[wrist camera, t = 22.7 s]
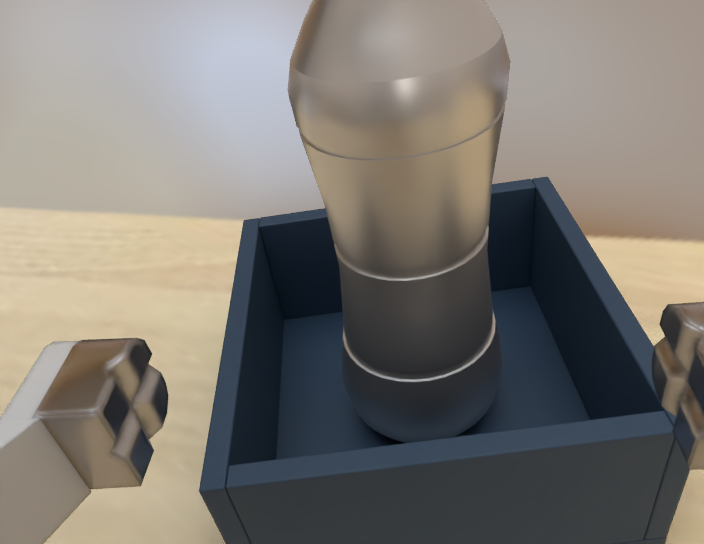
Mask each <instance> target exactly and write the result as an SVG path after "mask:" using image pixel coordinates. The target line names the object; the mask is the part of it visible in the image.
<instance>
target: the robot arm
mask: <svg viewBox="0 0 704 544" xmlns="http://www.w3.org/2000/svg"><path fill="white" fill-rule="evenodd" d="M660 326H661V328H662V330H663V332H664V334H665V337H664V338H663V339H662V340H660V341H659V342H658V343H657V344H656V345H655V346H654V351H653V356H652V361H651V364H652V379H653V383H654V387H655V391H656V394H657V396H658V399H659V401H660V404H661V406H662V407H663V408H665V409H666V410H668V411H669V412H670V413H672V414H673V415H674V416H676V419H675V423H674V426H673V430H672V432H673V434H674V436H675V438H676V441H677V443H678V445H679V447H680V450H681V452H682V454H683V456H684V459H685V461H686V463H687V465H688V468H689V470H694V469H704V302H696V303H682V304H668V305H667V306H666V308H665V309H664V311H663V313H662V317H661V321H660ZM151 355H152V353H151V351H150V349H149V348H148V346H147V344H146V342H145V340H142V339H139V338H123V339H97V340H81V341H59V342H52V343H51V344H49V345H47V346H46V347H45V348H44V349H43V351H42V352H41V354H40V356H39V357H38V359H37V360H36V362H35V363H34V365H33V367H32V368H31V370H30V371H29V373H28V375H27V376H26V378H25V379H24V381H23V383H22V384H21V386H20V387H19V389H18V391H17V392H16V394H15V395H14V397H13V398H12V400H11V402H10V403H9V405H8V406H7V408H6V410H5V411H4V413H3V414H2V416H1V418H0V544H43V543H44V542H45V541H46V540H47V539H48V538H49V537H50V536H51V535H52V534H53V533H54V532H55V531H56V530H57V528H58V527H59V526H60V525H61V524H62V523H63V522H64V521H65V520H66V519H67V518H68V517H69V516H70V514H71V513H72V512H73V511H74V510H75V509H76V508H77V507H78V506H79V505H80V504H81V503H82V502H83V500H84V499H85V498H86V497H87V496H88V495H89V494H90V493H91V490H90V489H102V488H119V487H136V486H141V484H142V481H143V479H144V476H145V473H146V471H147V468H148V465H149V462H150V460H151V457H152V454H153V451H154V450H153V448H152V445H151V443H150V441H149V439H150V438H151V437H152V436H153V435H154V434H156V433H157V432H158V431H159V430H160V429H161V428H162V426H163V423H164V420H165V417H166V414H167V406H168V392H167V387H166V383H165V380H164V378H163V376H162V374H161V372H159V371H158V370H156V369H155V368H153V367H152V366H150V365H149V364H148V363H149V360H150V358H151Z"/></svg>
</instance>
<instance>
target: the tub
mask: <svg viewBox="0 0 704 544" xmlns="http://www.w3.org/2000/svg"><path fill="white" fill-rule="evenodd" d="M488 227H489V232H488V245H487V254H488V265H489V276H490V287H491V297H492V308H493V312H494V315H495V319H496V323H497V327H498V331H499V336H500V343H501V349H502V356H503V365H502V373H501V376H500V380H499V384H498V387H497V391H496V394H495V397H494V400H493V403H492V405H491V406H490V408H489V409H488V411H487V412H486V414H485V415H484V416H483V417H482V418H481V419H480V420H479V421H478V422H477V423H476V424H475V425H473V426H472V427H470V428H469V429H467V430H466V431H464V432H462V433H461V434H459V435H457V436H455V437H450V438H443V439H435V440H427V441H419V442H411V443H404V442H400V441H396V440H394V439H391V438H388V437H386V436H384V435H382V434H380V433H378V432H376V431H375V430H373V429H372V428H371V427H369V426H368V425H367V424H366V423H365V422H364V421H363V420H362V419H361V418H360V416H359V415H358V413H357V411H356V409H355V407H354V405H353V403H352V401H351V399H350V397H349V395H348V393H347V390H346V388H345V386H344V382H343V377H342V359H341V349H342V336H343V327H344V323H343V309H342V296H341V282H340V269H339V263H338V259H337V254H336V250H335V246H334V241H333V238H332V234H331V229H330V225H329V221H328V217H327V213H326V208H325V209H318V210H311V211H304V212H297V213H290V214H283V215H276V216H270V217H262V218H260V219H259V218H257V219H249V220H244V222H243V228H242V234H241V240H240V246H239V252H238V258H237V264H236V271H235V277H234V283H233V289H232V295H231V301H230V307H229V313H228V319H227V325H226V331H225V337H224V343H223V349H222V355H221V361H220V367H219V373H218V380H217V386H216V392H215V398H214V404H213V410H212V416H211V422H210V428H209V434H208V440H207V446H206V452H205V458H204V464H203V470H202V476H201V482H200V488H199V492H200V494H201V496H202V498H203V500H204V502H205V504H206V506H207V507H208V509H209V511H210V513H211V515H212V517H213V519H214V521H215V523H216V525H217V527H218V529H219V531H220V533H221V535H222V537H223V539H224V541H225V543H226V544H665V541H666V536H667V534H668V531H669V528H670V525H671V523H672V520H673V517H674V514H675V511H676V508H677V505H678V503H679V500H680V497H681V494H682V491H683V488H684V485H685V483H686V480H687V477H688V474H689V471H690V470H689V468H688V465H687V463H686V461H685V459H684V456H683V454H682V452H681V450H680V447H679V445H678V443H677V441H676V438H675V436H674V434H673V432H672V430H673V426H674V423H675V419H676V416H674V415H673V414H672V413H670V412H669V411H668V410H666V409H665V408H663V407H662V406H661V404H660V401H659V399H658V396H657V394H656V391H655V387H654V383H653V379H652V364H651V361H652V356H653V351H654V346H653V345H652V343H651V341H650V340H649V338H648V337H647V335H646V333H645V332H644V330H643V329H642V327H641V325H640V324H639V322H638V321H637V319H636V317H635V316H634V314H633V313H632V311H631V309H630V308H629V306H628V305H627V303H626V301H625V300H624V298H623V297H622V295H621V293H620V292H619V290H618V289H617V287H616V285H615V284H614V282H613V281H612V279H611V277H610V276H609V274H608V273H607V271H606V269H605V268H604V266H603V265H602V263H601V261H600V260H599V258H598V257H597V255H596V253H595V252H594V250H593V249H592V247H591V245H590V244H589V242H588V241H587V239H586V237H585V236H584V234H583V232H582V231H581V229H580V228H579V226H578V224H577V223H576V221H575V220H574V218H573V217H572V215H571V213H570V212H569V210H568V208H567V207H566V205H565V204H564V202H563V200H562V199H561V197H560V196H559V194H558V192H557V191H556V189H555V188H554V186H553V184H552V183H551V181H550V180H549V178H548V177H542V178H535V179H532V180H531V179H527V180H520V181H513V182H506V183H499V184H492V188H491V203H490V216H489V224H488Z"/></svg>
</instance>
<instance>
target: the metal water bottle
mask: <svg viewBox="0 0 704 544" xmlns="http://www.w3.org/2000/svg"><path fill="white" fill-rule="evenodd" d="M509 69H510V58H509V54H508V51H507V47H506V43H505V39H504V36H503V33H502V29H501V27H500V25H499V23H498V22H497V20H496V18H495V17H494V15H493V14H492V12H491V11H490V9H489V7H488V6H487V4H486V3H485V1H484V0H313V1H312V3H311V5H310V7H309V10H308V12H307V14H306V16H305V18H304V21H303V24H302V27H301V30H300V33H299V36H298V39H297V42H296V45H295V47H294V50H293V53H292V56H291V59H290V70H289V82H288V94H289V99H290V103H291V106H292V110H293V113H294V117H295V121H296V125H297V127H298V128H299V131H300V136H301V139H302V142H303V144H304V147H305V150H306V153H307V156H308V159H309V161H310V164H311V167H312V170H313V173H314V176H315V179H316V181H317V184H318V187H319V190H320V193H321V196H322V198H323V201H324V204H325V208H326V213H327V217H328V221H329V225H330V229H331V234H332V238H333V241H334V246H335V250H336V254H337V259H338V263H339V269H340V282H341V296H342V309H343V323H344V327H343V336H342V349H341V359H342V377H343V382H344V386H345V388H346V390H347V393H348V395H349V397H350V399H351V401H352V403H353V405H354V407H355V409H356V411H357V413H358V415H359V416H360V418H361V419H362V420H363V421H364V422H365V423H366V424H367V425H368V426H369V427H371V428H372V429H373V430H375V431H376V432H378V433H380V434H382V435H384V436H386V437H388V438H391V439H394V440H396V441H400V442H404V443H411V442H419V441H427V440H435V439H443V438H450V437H455V436H457V435H459V434H461V433H462V432H464V431H466V430H467V429H469V428H470V427H472V426H473V425H475V424H476V423H477V422H478V421H479V420H480V419H481V418H482V417H483V416H484V415H485V414H486V412H487V411H488V409H489V408H490V406H491V405H492V403H493V400H494V397H495V394H496V391H497V387H498V384H499V380H500V376H501V373H502V365H503V356H502V349H501V343H500V336H499V331H498V327H497V323H496V319H495V315H494V312H493V308H492V297H491V287H490V276H489V265H488V254H487V245H488V232H489V227H488V224H489V216H490V203H491V188H492V178H493V172H494V167H495V161H496V155H497V150H498V144H499V138H500V132H501V127H502V120H503V115H504V109H505V101H506V99H507V90H508V78H509V77H508V76H509Z"/></svg>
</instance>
